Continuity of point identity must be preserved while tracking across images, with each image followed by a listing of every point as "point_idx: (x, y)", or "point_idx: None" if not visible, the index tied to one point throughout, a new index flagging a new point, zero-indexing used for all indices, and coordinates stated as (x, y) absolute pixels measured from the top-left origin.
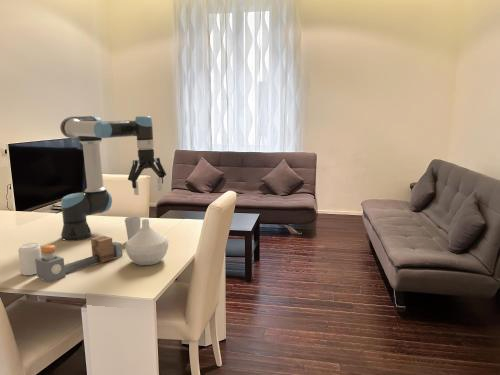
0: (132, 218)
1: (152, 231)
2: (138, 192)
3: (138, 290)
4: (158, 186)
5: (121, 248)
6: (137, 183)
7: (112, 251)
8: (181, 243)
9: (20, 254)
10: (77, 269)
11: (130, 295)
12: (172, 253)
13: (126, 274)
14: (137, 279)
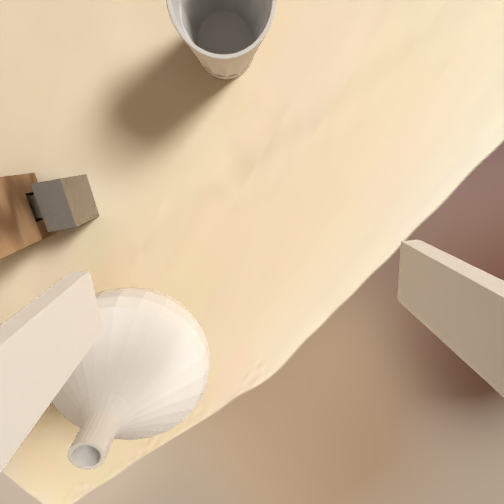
0: None
1: (127, 432)
2: (89, 344)
3: (43, 471)
4: (426, 273)
5: (83, 222)
6: (13, 439)
7: (35, 241)
8: (335, 248)
9: None
10: None
11: (18, 481)
12: (246, 317)
13: None
14: (64, 420)
